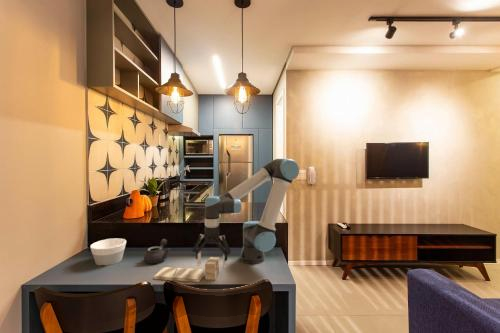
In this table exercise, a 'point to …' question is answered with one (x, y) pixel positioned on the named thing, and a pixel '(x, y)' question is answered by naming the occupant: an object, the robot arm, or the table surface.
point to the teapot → (156, 253)
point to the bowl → (108, 251)
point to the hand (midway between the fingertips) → (211, 265)
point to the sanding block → (212, 268)
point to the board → (180, 274)
